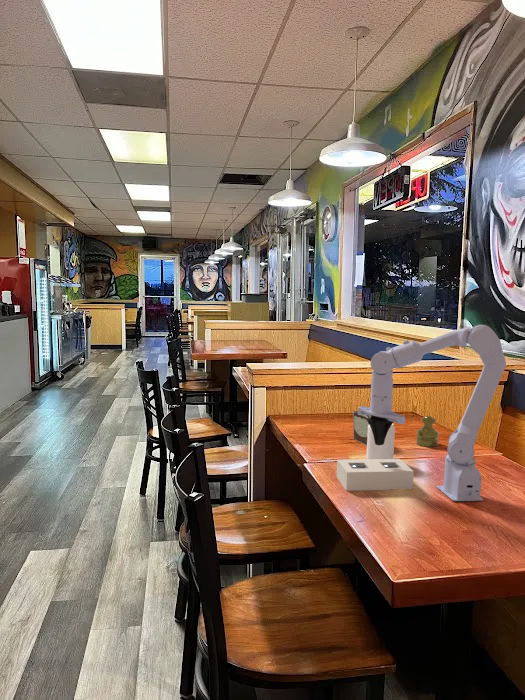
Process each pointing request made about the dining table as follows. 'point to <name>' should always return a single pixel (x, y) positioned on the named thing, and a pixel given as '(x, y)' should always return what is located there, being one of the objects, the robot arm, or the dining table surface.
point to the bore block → (374, 475)
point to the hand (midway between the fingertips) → (379, 444)
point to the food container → (360, 427)
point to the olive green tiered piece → (427, 433)
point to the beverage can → (380, 450)
